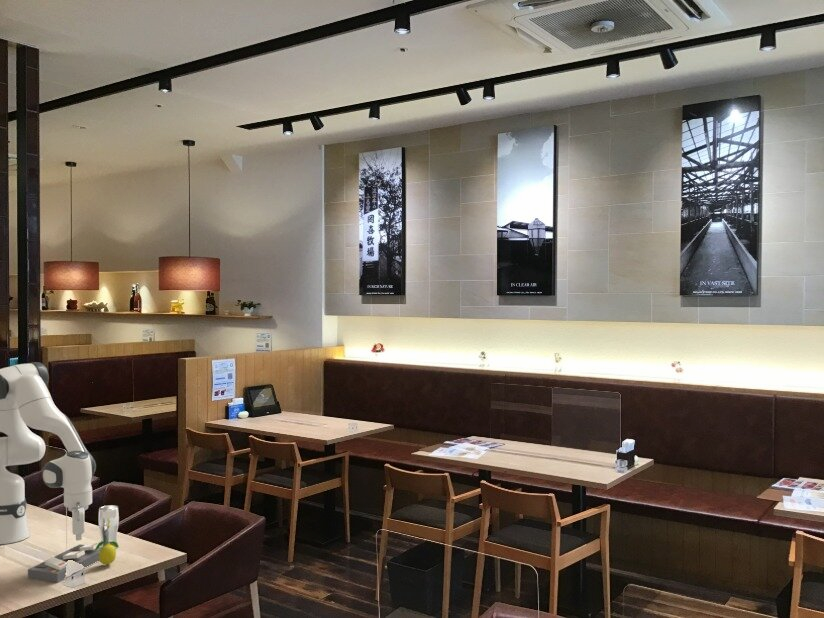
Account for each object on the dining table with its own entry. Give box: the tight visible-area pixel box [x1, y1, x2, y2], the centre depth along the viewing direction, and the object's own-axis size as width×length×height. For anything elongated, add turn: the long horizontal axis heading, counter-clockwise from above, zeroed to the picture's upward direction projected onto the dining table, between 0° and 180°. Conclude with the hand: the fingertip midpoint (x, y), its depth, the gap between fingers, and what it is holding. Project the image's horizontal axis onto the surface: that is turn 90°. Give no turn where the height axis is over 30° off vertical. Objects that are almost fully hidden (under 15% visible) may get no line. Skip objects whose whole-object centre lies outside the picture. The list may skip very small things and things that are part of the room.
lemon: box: [95, 537, 119, 566], centre depth 256 cm, size 7×6×10 cm
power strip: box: [27, 544, 102, 584], centre depth 255 cm, size 12×24×3 cm, turn 163°
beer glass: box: [98, 504, 120, 550], centre depth 272 cm, size 7×7×15 cm
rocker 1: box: [45, 556, 68, 570], centre depth 246 cm, size 6×4×1 cm, turn 74°
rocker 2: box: [63, 551, 85, 560], centre depth 254 cm, size 6×4×1 cm, turn 73°
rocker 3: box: [80, 542, 99, 551], centre depth 262 cm, size 6×4×1 cm, turn 73°
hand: (78, 539), depth 253 cm, fingers closed
